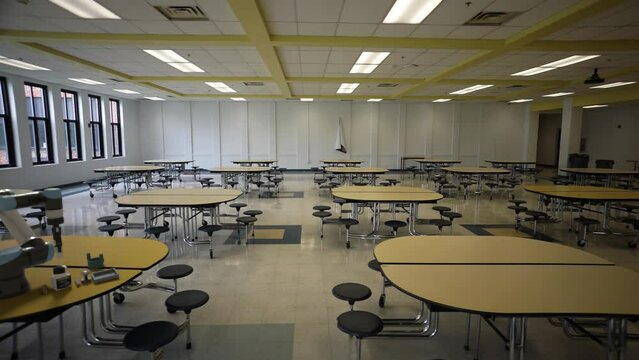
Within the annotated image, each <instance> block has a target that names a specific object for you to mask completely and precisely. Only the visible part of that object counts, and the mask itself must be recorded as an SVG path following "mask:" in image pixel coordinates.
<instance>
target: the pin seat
mask: <svg viewBox="0 0 639 360" xmlns="http://www.w3.org/2000/svg"><path fill="white" fill-rule="evenodd" d="M74 282H75V284H76V288H77V287H78V286H79V287H81V285H82V284H81V283H82V282H81V280H80V279H79V277H76V278H74ZM42 292H43V296H44V295H47V294H48V289H47V285H46V284H45V285H42Z"/></svg>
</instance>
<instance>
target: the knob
mask: <svg viewBox="0 0 639 360" xmlns="http://www.w3.org/2000/svg"><path fill="white" fill-rule="evenodd" d="M88 275H91V269H85V270H81V271H80V276H83V277H82V278H81V279H80V282H81V283H86V282H91V281H92V278H91V276H88Z"/></svg>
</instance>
